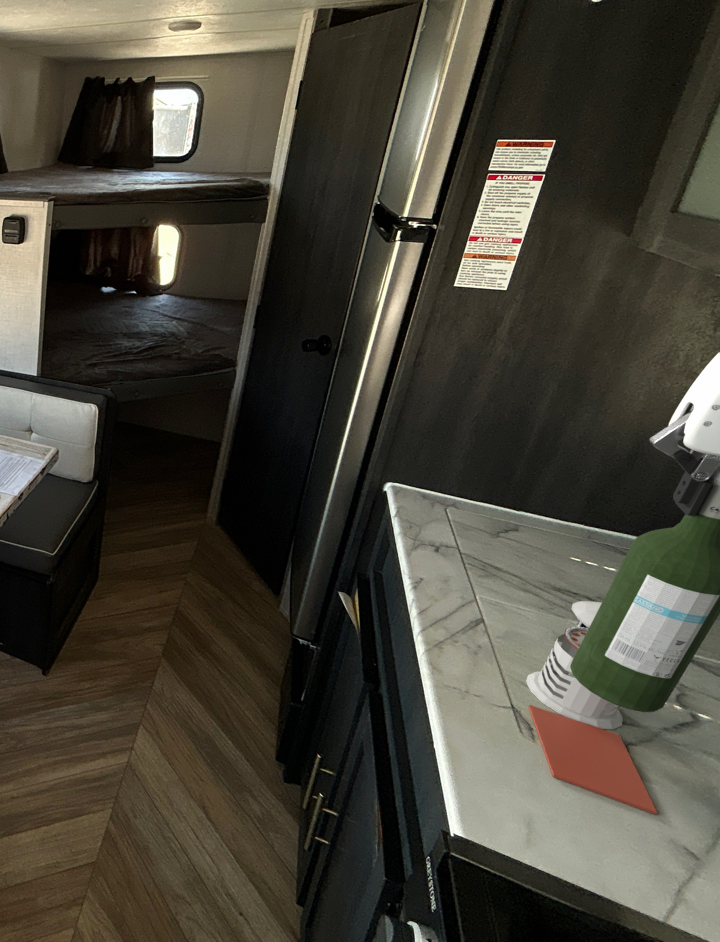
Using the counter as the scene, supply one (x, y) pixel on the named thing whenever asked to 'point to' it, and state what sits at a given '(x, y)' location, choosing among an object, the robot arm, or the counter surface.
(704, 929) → the counter surface
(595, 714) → the french press
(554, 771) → the napkin
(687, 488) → the robot arm
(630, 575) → the wine bottle
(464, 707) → the counter surface
